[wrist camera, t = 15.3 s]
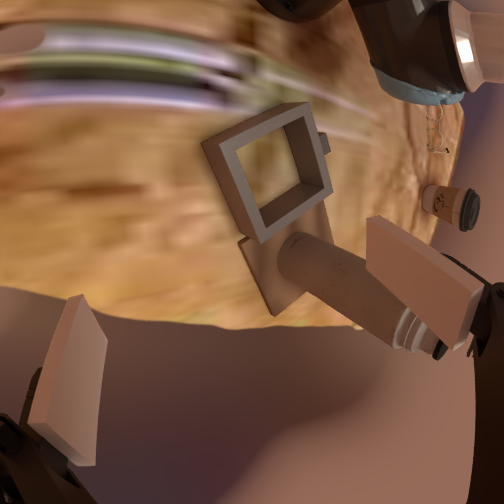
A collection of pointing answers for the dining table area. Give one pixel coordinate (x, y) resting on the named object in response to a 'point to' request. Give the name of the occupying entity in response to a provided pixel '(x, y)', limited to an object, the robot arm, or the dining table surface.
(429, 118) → the eyeglasses
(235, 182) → the collar
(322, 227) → the board
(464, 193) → the coffee cup
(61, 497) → the robot arm
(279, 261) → the thermos bottle
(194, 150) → the dining table surface
